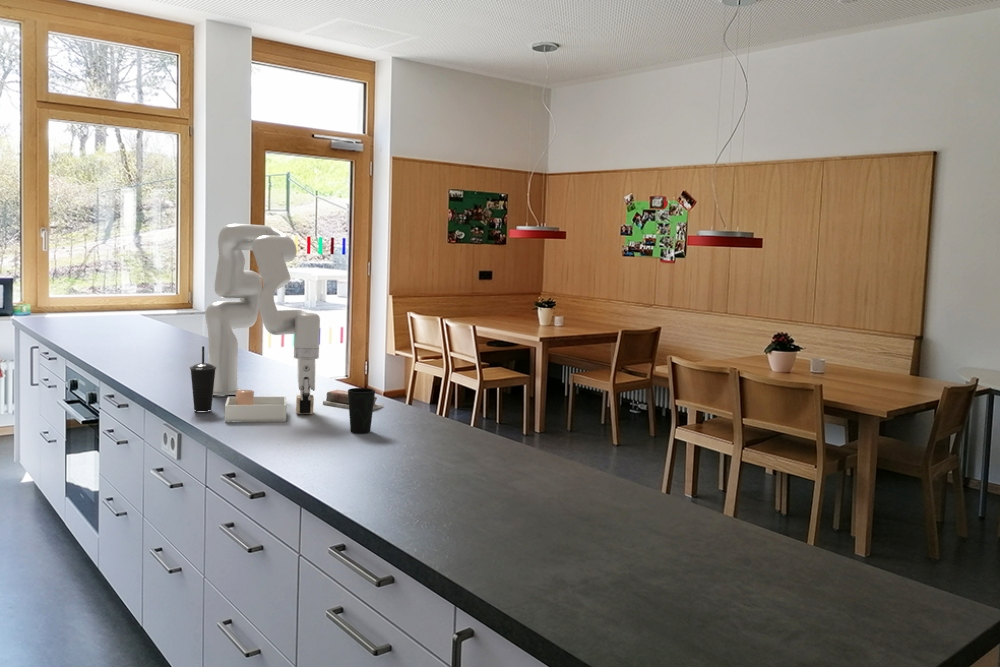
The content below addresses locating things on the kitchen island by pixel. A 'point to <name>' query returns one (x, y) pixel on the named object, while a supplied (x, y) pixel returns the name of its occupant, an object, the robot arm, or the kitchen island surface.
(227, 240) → the robot arm
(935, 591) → the kitchen island surface
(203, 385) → the drinking cup
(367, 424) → the cup
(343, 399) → the packaged product
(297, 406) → the cube
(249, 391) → the cylinder
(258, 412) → the tote
